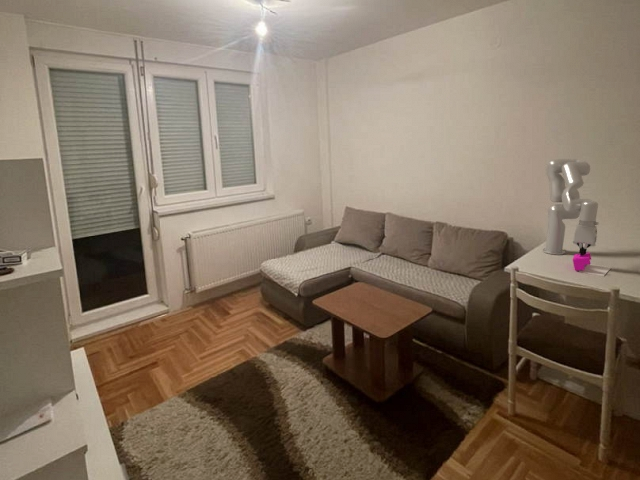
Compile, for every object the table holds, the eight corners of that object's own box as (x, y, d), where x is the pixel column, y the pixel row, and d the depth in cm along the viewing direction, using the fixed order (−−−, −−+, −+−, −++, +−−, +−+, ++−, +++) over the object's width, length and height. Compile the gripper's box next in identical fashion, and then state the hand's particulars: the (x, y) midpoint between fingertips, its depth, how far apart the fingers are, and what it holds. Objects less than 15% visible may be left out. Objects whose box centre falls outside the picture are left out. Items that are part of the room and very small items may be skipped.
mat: (586, 264, 222) (586, 262, 221) (610, 268, 214) (611, 266, 213) (578, 271, 210) (578, 269, 209) (603, 276, 202) (603, 274, 201)
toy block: (575, 270, 210) (591, 268, 205) (572, 259, 210) (588, 257, 205) (576, 264, 222) (592, 263, 217) (574, 254, 221) (590, 252, 217)
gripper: (604, 224, 207) (599, 255, 212) (573, 220, 218) (569, 251, 222) (601, 226, 202) (596, 258, 207) (569, 222, 213) (565, 253, 217)
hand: (582, 254), depth 215 cm, fingers closed
